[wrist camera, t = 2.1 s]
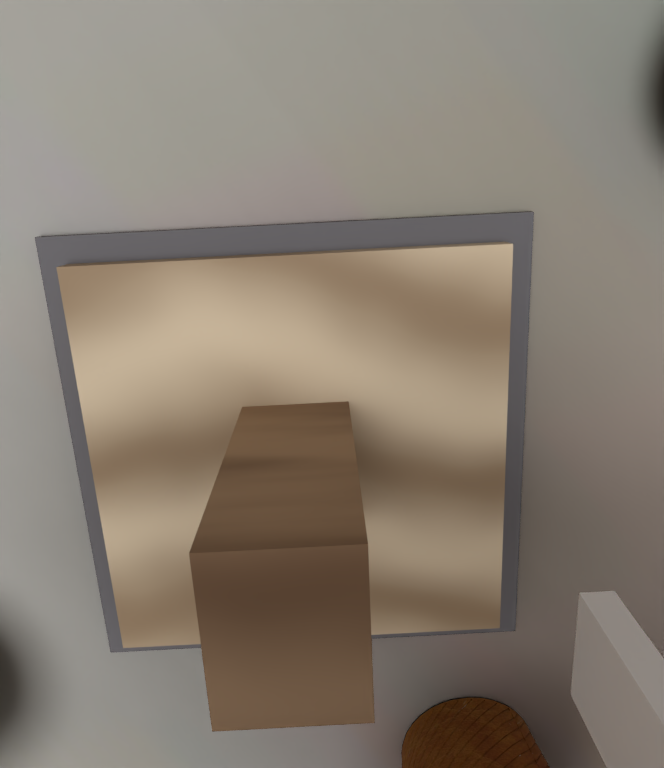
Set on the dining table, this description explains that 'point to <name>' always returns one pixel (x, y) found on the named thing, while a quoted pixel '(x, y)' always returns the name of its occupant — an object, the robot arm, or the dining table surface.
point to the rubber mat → (288, 241)
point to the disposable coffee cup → (470, 737)
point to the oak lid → (296, 459)
